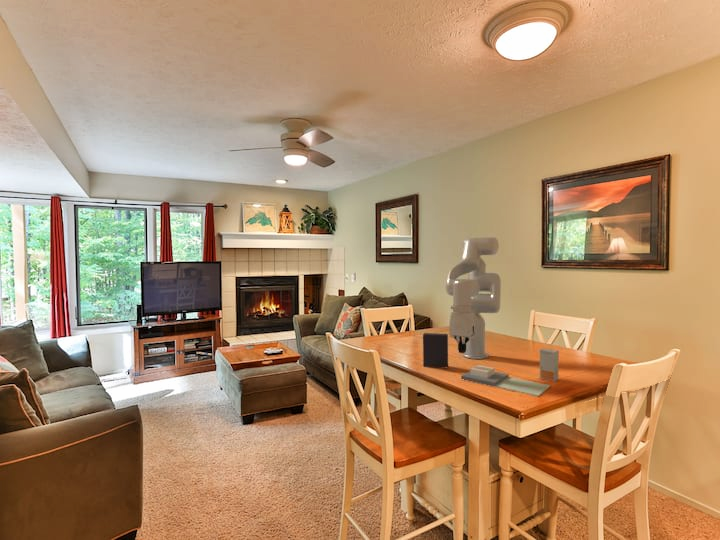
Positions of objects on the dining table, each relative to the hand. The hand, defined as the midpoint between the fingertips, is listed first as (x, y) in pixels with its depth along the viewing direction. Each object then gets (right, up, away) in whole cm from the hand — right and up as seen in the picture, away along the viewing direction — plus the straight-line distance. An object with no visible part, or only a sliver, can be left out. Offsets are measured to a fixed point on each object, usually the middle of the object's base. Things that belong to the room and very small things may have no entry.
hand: (462, 352), depth 164 cm
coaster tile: (+7, -8, -5) cm, 12 cm away
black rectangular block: (-9, -10, +13) cm, 18 cm away
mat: (+19, -10, -16) cm, 27 cm away
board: (+8, -10, -6) cm, 14 cm away
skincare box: (+33, -10, -7) cm, 36 cm away
